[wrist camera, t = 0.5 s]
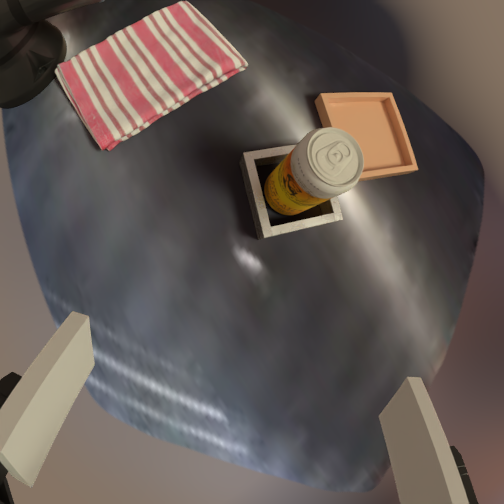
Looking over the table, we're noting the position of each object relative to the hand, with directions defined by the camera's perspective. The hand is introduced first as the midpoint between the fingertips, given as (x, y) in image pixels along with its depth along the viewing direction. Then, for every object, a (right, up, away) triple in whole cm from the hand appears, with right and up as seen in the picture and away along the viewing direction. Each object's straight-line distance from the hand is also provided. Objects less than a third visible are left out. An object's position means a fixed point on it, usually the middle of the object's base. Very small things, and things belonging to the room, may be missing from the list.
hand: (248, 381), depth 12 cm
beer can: (+4, +12, +28) cm, 31 cm away
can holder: (+4, +12, +28) cm, 31 cm away
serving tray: (+16, +22, +31) cm, 41 cm away
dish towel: (-14, +31, +26) cm, 43 cm away
